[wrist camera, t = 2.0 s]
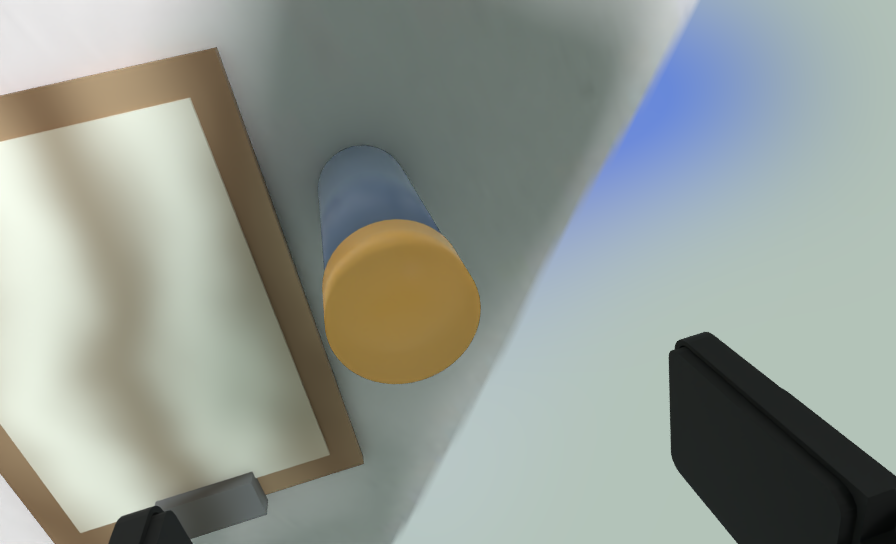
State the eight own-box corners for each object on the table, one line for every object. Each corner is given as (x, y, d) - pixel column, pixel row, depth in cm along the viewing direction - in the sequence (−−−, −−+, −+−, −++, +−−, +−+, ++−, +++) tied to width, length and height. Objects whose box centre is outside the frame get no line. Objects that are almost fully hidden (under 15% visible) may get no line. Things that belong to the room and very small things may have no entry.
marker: (397, 133, 25) (465, 226, 15) (417, 219, 27) (491, 358, 16) (303, 156, 25) (303, 271, 14) (330, 243, 27) (349, 401, 16)
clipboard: (216, 47, 22) (210, 50, 21) (364, 461, 32) (367, 481, 31) (-235, 147, 20) (-275, 158, 19) (73, 553, 30) (62, 579, 29)
